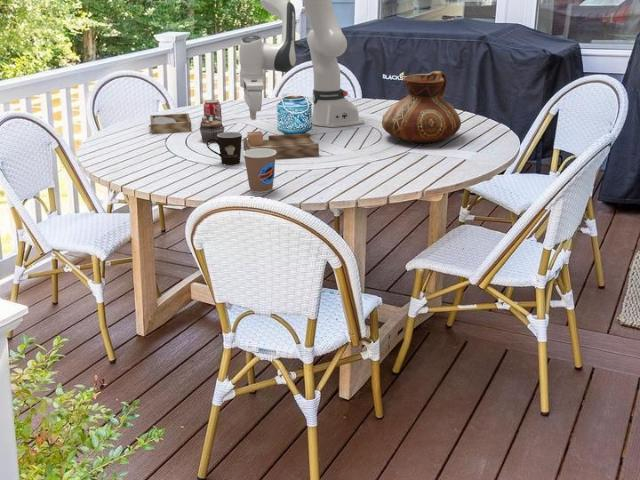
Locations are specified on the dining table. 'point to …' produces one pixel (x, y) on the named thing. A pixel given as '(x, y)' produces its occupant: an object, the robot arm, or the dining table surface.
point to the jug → (422, 112)
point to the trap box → (288, 145)
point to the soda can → (212, 108)
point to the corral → (172, 124)
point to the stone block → (163, 120)
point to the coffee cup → (260, 169)
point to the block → (255, 138)
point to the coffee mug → (228, 147)
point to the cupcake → (211, 127)
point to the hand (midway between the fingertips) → (253, 119)
